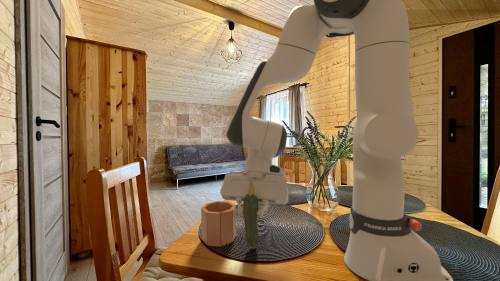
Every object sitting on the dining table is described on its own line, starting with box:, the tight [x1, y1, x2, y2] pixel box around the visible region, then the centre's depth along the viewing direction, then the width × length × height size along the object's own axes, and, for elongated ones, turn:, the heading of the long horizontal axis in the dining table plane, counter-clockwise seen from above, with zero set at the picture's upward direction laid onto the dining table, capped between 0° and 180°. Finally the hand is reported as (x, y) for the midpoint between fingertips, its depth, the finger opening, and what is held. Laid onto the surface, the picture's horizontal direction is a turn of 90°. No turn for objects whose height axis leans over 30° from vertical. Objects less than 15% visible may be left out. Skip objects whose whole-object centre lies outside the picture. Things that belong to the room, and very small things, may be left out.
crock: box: [200, 200, 237, 248], centre depth 73 cm, size 10×10×10 cm
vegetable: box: [242, 180, 259, 249], centre depth 65 cm, size 4×4×20 cm
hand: (250, 215), depth 65 cm, fingers closed on vegetable, 4 cm apart
